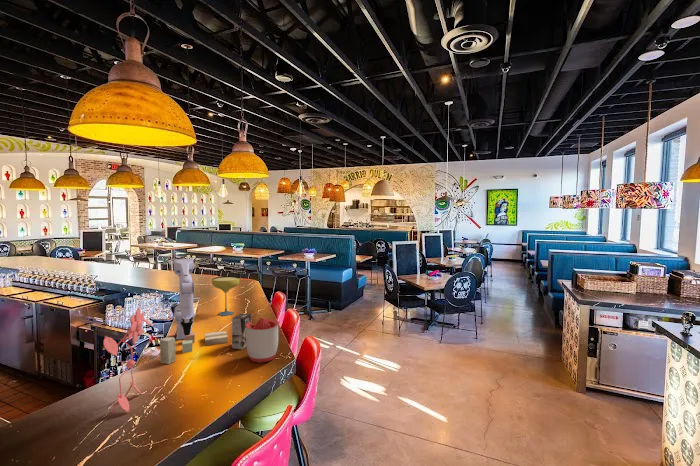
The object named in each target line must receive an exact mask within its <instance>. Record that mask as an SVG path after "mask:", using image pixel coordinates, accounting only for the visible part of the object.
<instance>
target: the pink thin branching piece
mask: <svg viewBox="0 0 700 466" xmlns="http://www.w3.org/2000/svg"><path fill="white" fill-rule="evenodd" d="M129 322H130V327H129V329H128V330H127V332H126V333H125V334H124V336H123V338H121V339H120V341H119V342H117V341H116V340H114V338H112V337H109V336H107V335H106V336H104V339H103V347H104V349H105V351H107V353H109V354H110V355H112V356H115V357H116V356H117V355H118V352H119V346H120V344H121V343H124V344H125V345H126V346H127V347H129V348H130V358H131V359H130V360H128V361H127V362H126V365H125V366H126V370H125V371H124V372H123V373H122V374H121V375H120V376H119V377H118V383H119V385H118V386H119V393H118V394H117V397H116V399H117V400H116V402H115V404H114V406H113V408H112V410H111V413H113V412H114V411H115V409H116V407H117V406H118V405H119V407H120V409H122V410H123V411H125V412H126V413H128V412H129V413H130V403H129V400H128V398H127V396H128V394H129V392H130V391H131V389H132V388H133V389H134V390H135V391H136V392H137V393H139V394H140V395H142V394H143V393H142V392H141V391H140V389H139V388H138V387H137V386H136V385H135V382H134V376H133V367H134V366H135V365H136V361H135V360H134V359H133V357H134V356H133V349H134V348H133V347H132V346H131V345H130V344H129V343H127V341H131V339H132V345H135V344H136V342H137V341H138V340H139V336H141V335H142V334H143V332H144V329H143V323H146V324H147V325H149V326H153V325H152V323H150V322H149V321H148V320H147V319H146V318H145V312H144V311H142V312H141V308H140V307H137V310H135V312H134V314H131V315H130V317H129ZM126 340H127V341H126ZM129 369H130V374H131V381H130V382H129V383H130V385H129V388H128V390H127V391H126V393H125V395H124V394H123V393H122V383H121V378H123V376H124V375H125V373H127V371H128V370H129Z"/></svg>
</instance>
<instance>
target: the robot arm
mask: <svg viewBox="0 0 700 466" xmlns="http://www.w3.org/2000/svg"><path fill="white" fill-rule="evenodd" d="M193 271H194V258H183V259H182V258H181V259H179V258H178V259H176V258H174V260H173V273H174V275H177V277H178V281H179V282H178V284H179V304H177V305H176V306H175V308H174V313H173V314H174V322H175V323H177V325H176V326H177V327H176V329H177V330H176V331H177V332H176V333H177V334H176V337H175V341H176V340H185V336H186V335H190V333H193V331H192V326H193V323H194V319H195V316H197V313H195V308H194V293H195V284H194V281H193V278H192V277H193V276H192V275H191V274H192V273H193Z"/></svg>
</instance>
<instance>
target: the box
mask: <svg viewBox="0 0 700 466" xmlns="http://www.w3.org/2000/svg"><path fill="white" fill-rule="evenodd" d="M159 351H160V352H159V353H160V354H159V355H160V356H159V357H160V364H166V365H170V364H173V362H176V361H177V359H176V356H177V354H176V337H171V336H166V337H163V338H161V339H159Z"/></svg>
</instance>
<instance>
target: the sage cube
mask: <svg viewBox="0 0 700 466" xmlns="http://www.w3.org/2000/svg"><path fill="white" fill-rule="evenodd" d="M181 345H182V346H181V348H182V354H184V353H185V354H186V353H191V352H193V343H192V340H188V341H185V340H182V344H181Z"/></svg>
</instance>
